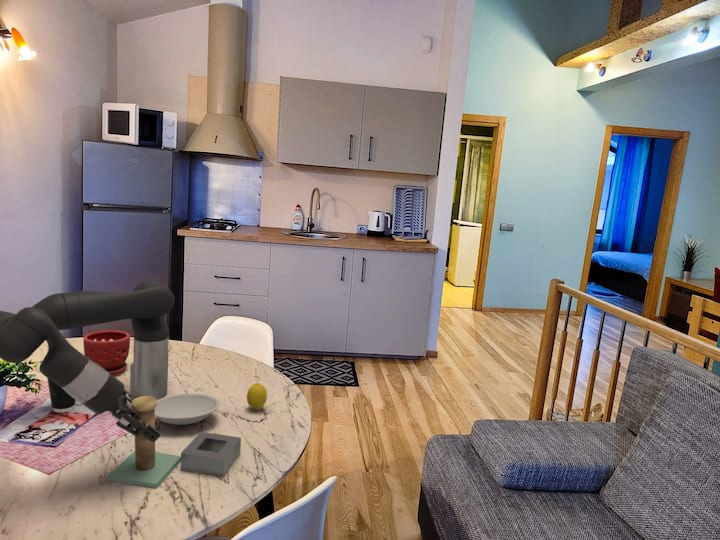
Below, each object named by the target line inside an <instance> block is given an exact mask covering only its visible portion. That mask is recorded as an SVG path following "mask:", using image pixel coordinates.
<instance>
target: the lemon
mask: <svg viewBox="0 0 720 540" xmlns="http://www.w3.org/2000/svg"><path fill="white" fill-rule="evenodd" d="M267 392H268V391H267V388H266V387H265V386H264V385H263V384H261V383H259V382H256V383H254V384H252V385H251V386H250V387H249V388H248V390H247V394H246V401H247V403H248V405H249V407H250V408H253V409H254V410H258V409H261V408H262V407H263V406H265V404H266V402H267V399H268V394H267Z"/></svg>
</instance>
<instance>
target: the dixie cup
mask: <svg viewBox="0 0 720 540" xmlns="http://www.w3.org/2000/svg"><path fill="white" fill-rule="evenodd" d="M46 379H47V384H48V391H49V398H50V404H51V408H52V411H53V410H54V411H55V413H59V412H62V413H67V412H70V411H72V410H74V408H75V405H76V401H77V400H76V399H74V398H73V397H71V396H70V395H69V394H68V393H67V392H66V391H65V390H64V389H63V388H61V387H60V386H59V385H57V384H56V383H54V382H53V381H51V380H50V379H48V378H47V377H46ZM54 411H53V412H54Z"/></svg>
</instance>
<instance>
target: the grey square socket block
mask: <svg viewBox="0 0 720 540" xmlns="http://www.w3.org/2000/svg"><path fill="white" fill-rule="evenodd" d="M241 444H242V437H239V436H233V435H227V434H220V433H218V434H217V433H213V432H212V433H211V432H207V431H200V432H199V433H198V434H197V435H196V436H195V438H194V439H193V440H192V441H191V442H189V444H188V445H187V446H186V447H185V448H184V449H183V450H182V451H181V452H180V456H181V462H180V470H181V471H185V472H187V471H188V472H192V473H198V474H204V475H211V476H216V477H217V476H218V477H225V475H226V474H227V473H228V471H229V470H230V468H231V467H232V466H233V464H234V463H235V461H236V460H237V459H238V457H239V456H240V454H241V450H242V449H241V447H242V446H241Z"/></svg>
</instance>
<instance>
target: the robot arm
mask: <svg viewBox="0 0 720 540" xmlns="http://www.w3.org/2000/svg"><path fill="white" fill-rule="evenodd" d="M174 306H175V295H174V294H173V292H172V291H171V290H170V288H169V287H166V286H164V285H163V284H161V283H160V282H157V281H155V280H143V281H141V282H139V283H137V285H136V286H135V287H134V288H133V290H132V291H126V292H105V291H92V290H89V291H88V290H79V291H78V290H77V291H69V292H62V293H61V292H58V293H53V294H50V295H48V296H46V297H44V298H43V299H41V300H40V301H38V302H37V303H35V304H34V305H32V306H28V307H24V308H21V309H20V310H19V311H17V313H13V312H8V311H4V310H0V359H1V360H2V361H5V362H7V363H11V364H19V363H22V362H24V361H26V360H27V359H29V357H31V356H32V355H33V353H34V352H36V351H37V350H38V349H39V347H41V346H42V345H43V344H44V343H45V341H46V343H47V346H48V350H47V353H46V355H45V356H44V357H43V359H42V361H41V363H40V364H39V369H38V370H39V372H40V373H41V374H42V375H43V376H45V377H46V379H47V378H48V379H50V380H51V381H53V382H54V383H56V384H57V385H59V386H60V387H61V388H63V389H64V390H65V391H66V392H67V393H68V394H69V395H70V396H71V397H73V398H74V399H76V401H78V403H80V404H81V405H83V406H84V407H85V408H87V409H88V410H90V411H91V412H92V413H94V414H95V415H102V414H104V413H105V412H110V413H111V416H112V418H113V419H114V420H116V422H115V424H116V427H119V428H121V429H123V430H125V431H126V432H127V433H129V434H131V435H132V436H134V437H135V436H136V437H138V436H139V435H140V434H142V435H143V436H144V437H146V438H147V439H149V440H150V441H151V442H155V443H156V441H157V440H158V439H159V438H160V437H161V432H160V431H158V430H157V429H156V428H155V429H154V428H153V427H151V426H150V425H149V424H148V423H147V422H145V421H144V420H143V419H142V418H141V414H140V413H139V412H138V411H136V410H135V409H134V407H133V405H132V401H133V400H134V399H136V398H138V397H142V396H152V397H155V398H156V400H158V399H161V398H164V397H166V396H167V395H168V387H169V386H168V385H169V384H168V383H169V382H168V381H169V379H168V378H169V346H170V345H169V339H170V335H169V334H170V330H169V326H168V324H167V322H166V317H165V315H167V314H168V313H169V312H171V310H172V309H173V308H174ZM122 320H123V321H124V320H131V327H132V331H133V362H131V364H130V367H129V368H130V370H129V373H130V374H129V376H130V377H129V378H130V379H129V383H130V384H129V392H127V390H126V389H125V384H124V383H123V382H122V381H121V380H119V379H118V378H117V377H115V375H111V374H110V373H109V372H107V371H106V370H105V369H104V368H102V367H101V366H100V365H98V364H96V363H95V362H93V361H91V360H90V359H88V358H87V357H86V356H85V355H84V353H82V352H80V351H79V350H78V349H77V348H75V347H74V345H72V344H71V343H70V342H69V341H68V339H66V338H65V337H64V335H63V334H62V332H61V331H64V330H72V329H79V328H83V327H84V328H85V327H89V326H95V325H101V324H105V323H106V324H107V323H111V322H116V321H122ZM48 379H47V380H48ZM134 415H136V417H135V418H134ZM157 425H158V420H156V419H155V427H156V426H157ZM136 426H139V427H138V428H137V427H136Z"/></svg>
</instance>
